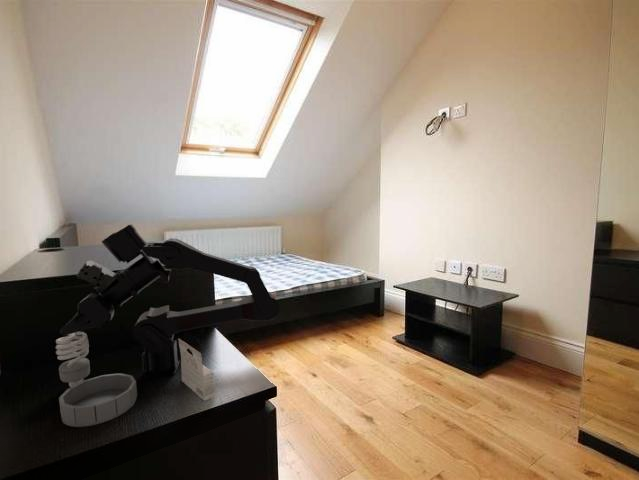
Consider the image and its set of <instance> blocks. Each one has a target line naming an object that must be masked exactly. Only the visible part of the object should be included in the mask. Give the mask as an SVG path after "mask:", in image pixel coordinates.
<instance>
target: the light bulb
mask: <svg viewBox="0 0 639 480" xmlns="http://www.w3.org/2000/svg"><path fill="white" fill-rule="evenodd" d="M55 343H56V346H55V349H56V351H55V354H56V355H57V360H60V361H64V360H67V361H64V362H62V363H61V364H60V365H59V367H58V373H59V378H60V380H61V381H62V382H63V383H68V386H69V388H70V387H72V386H74V385H76V384H78V383H80V382H82V381H84V379H85V378H87V377H88V376H89V375H90V374H91V373H90V372H91V363H90V360H89V359H88V358H86V357H87V355H88V354H89V347H90V344H89V339H88V335H87V333H86V332H84V331H79V332H75V333H72V334H68V335H67V336H63V337H60V338H59V337H58V339H56V340H55Z"/></svg>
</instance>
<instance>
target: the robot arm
mask: <svg viewBox="0 0 639 480" xmlns="http://www.w3.org/2000/svg"><path fill="white" fill-rule="evenodd" d="M101 243H102V245H103V246H104V247H105V248H106V249H107V250H108V251H109V253H111V255H112V256H113V257H114V259H116V261H117V262H119V263H121V262H122V263H124V264H125V262H126V264H129V263H131V262H132V261H134V260H135V259H136V258H138V257H139V256H140V255H141V256H142V257H140V258H139V259H138V260H136V261H135V262H133V263H132V264H131V265H129V266H127V267H126V268H125V269H122V270H121V269H120V270H117V272H113V271H112V270H111V269H109V268H108V267H106V266H103V265H102V264H99V263H97V262H95V261H94V260H89V259H88V260H87V261H86V262H85V263H84V264H83V266H82V267H81V268H80V269H79V271H78V273H77V274H76V277H77V278H78V279H80V280H84V281H87V282H88V283H90V284H93V285H94V287H93V290H92V292H91V293H90V294H88V295H87V296H85V297H84V298H83V299H82V300H81V301H80V302H78V304H77V312H76V313H75V314H74V316H72V318H71V319H70V320H69V322H67V323H66V324H65V325H64V326H63V327H62V328H61V329H60V331H59V334H60V335H61V336H63V337H65V336H68V334H72V333H75V332H84V331H86V330H90V329H95V328H103V327H104V326H106V325H107V324H109V323H110V322H111V321H112V319H113V317H114V315H115V310H118V309H120V308H121V307H122V306H123V304H124V303H126V302H127V301H128V300H130V299H132V298H135V297H137V296H138V295H139V293H140V292H142V290H144V289H145V288H146V287H149V285H151V284H152V283H153V282H155V281H156V280H157V279H159V278H161V279H162V281H164V283H165V284H166V283H169V280H170V274H171V272H172V269H171V268H178V269H192V270H199V271H204V272H206V273H210V274H214V275H217V276H221V277H224V278H228V279H231V280H235V281H238V282H241V283H244V284H246V285H247V287H248V289H249V291H250V293H251V294H250V295H248V296H246V297H244V298H242V299H241V300H238V301H233V302H227V303H222V304H221V303H220V304H216V305H210V306H205V307H200V308H199V307H198V308H192V309H188V310H182V311H174V310H173V311H172V310H170V305H169V304H168V305H164V306H161V307H150V308H149V310H148V311H144V312H143V313H142V314H141V315H140V316H139V318H138V319H137V321H136V323H135V324H134V327H133V329H132V335H133V338H134V339H135V340H136V342H138V343H139V344H141V345H142V347H143V351H144V352H143V353H142V354H141V358H142V359H141V361H142V370H143V371H142V372H143V373H144V374H143V378H144V379H145V378H155V377H156V378H157V377H163V376H173V375H175V374H176V372H177V371H178V367H179V365H180V364H181V360H178V343H177V339H175V340H174V337H175V336H174V335H176V334H177V333H179V332H183V331H188V330H194V329H199V328H205V327H208V326H214V325H219V324H226V323H230V322H235V321H241V320H244V321H246V320H247V321H250V322H266V321H267V322H269V321H272V320H274V319H276V317H277V316H278V315H279V313H280V311H281V309H280V307H281V306H280V303H279V301H278V300H277V298H276V297H275V295H273V293H271V292H270V291H268V289H267V287H266V285H265V283H264V281H263V280H262V277H261V274H260V272H259V270H258V269H257V268H256V267H255V266H253V265H251V266H250V265H245V264H243V263H238V262H235V261H234V260H233V261H232V260H229V259H226V258H224V257H223V258H222V257H219V256H216V255H212V254H209V253H205V252H203V251H201V250H199V249H197V248H196V247H194V246H193V245H192V244H188V242H187V243H186V242H184V241H183V240H181V239H179V238H172V237H171V238H168V239H166V240H165V241H164V242H153V241H151V242H146V241H145V240H144V238H143V237H142V236H141V235H140V233H139V232H138V230H137V229H136V227H135V226H134V225H133V224H127V225H126V226H125V227H124V228H122V229H120V230H118V231H117V232H113V233H112V234H110V235H109V236H107V237H106V238H104V239H103V240H102V241H101ZM152 258H153V259H152ZM154 259H155V260H154ZM164 266H165V267H164ZM166 267H168V268H166Z"/></svg>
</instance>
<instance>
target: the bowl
mask: <svg viewBox="0 0 639 480" xmlns="http://www.w3.org/2000/svg"><path fill="white" fill-rule="evenodd" d="M137 389H138V388H137V380H136V379H135V378H134V376H133V375H131V374H125V373H120V372H119V373H110V374H109V373H108V374H103V375H99V376H95V377H92V378H87V379H84V380H83V381H82V382H80V383H78V384H76V385H74V386H72V387H70V386H69V388H66V390H65V391H64V392H63V393H62V394H61V395H60V396H59V397H58V402H59V409H60V410H59V411H60V417H61V422H62V423H63V424H64V425H66V426H69V427H72V428H85V427H92V426H96V425H100V424H103V423H105V422H108V421H111V420H113V419H116V418H118V417H120V416H122V415H124V414H125V413H126V412H127V411H129V410H131V408H132V407H133V406H134V405H135V403H136V401H137V397H138V390H137Z"/></svg>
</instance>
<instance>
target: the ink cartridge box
mask: <svg viewBox="0 0 639 480" xmlns="http://www.w3.org/2000/svg"><path fill="white" fill-rule="evenodd" d="M177 340H178V341H177V342H178V346H179V353H180V365H181V367H180V368H181V382H182V383H184V385H186V386H187V387H188V388H189V389H190V390H192V391H193V392H194V393H195V394H196V395H197V396H198V397H199V398H200V399H201V400H203V401H204V402H205V401H208V400H211V399H213V398H214V397H215V380H214V379H215V378H214V372H213V371H212V369H209V368H208V367H206V366H205V365H204V364H203V358H202V353H201V352H200V351H199V350H197V349H195V348H194V347H193V346H191V345H190V344H188V343H187V342H185V341H183V340H182V339H181V338H177ZM188 349H189V351H190V352H191V353H192V354H191V353H190V352H189V351H188Z"/></svg>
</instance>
